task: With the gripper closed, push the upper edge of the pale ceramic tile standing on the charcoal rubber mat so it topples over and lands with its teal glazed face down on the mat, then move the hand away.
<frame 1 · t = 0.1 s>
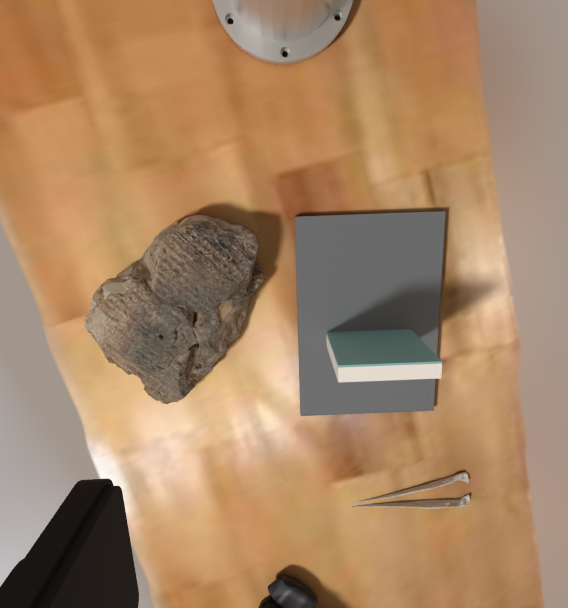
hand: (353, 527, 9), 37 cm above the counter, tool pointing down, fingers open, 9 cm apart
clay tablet: (189, 296, 46), on the counter
tile: (368, 337, 46), point 1 cm above the counter, touching mat
mat: (367, 318, 46), on the counter
old metal nails: (395, 493, 53), on the counter
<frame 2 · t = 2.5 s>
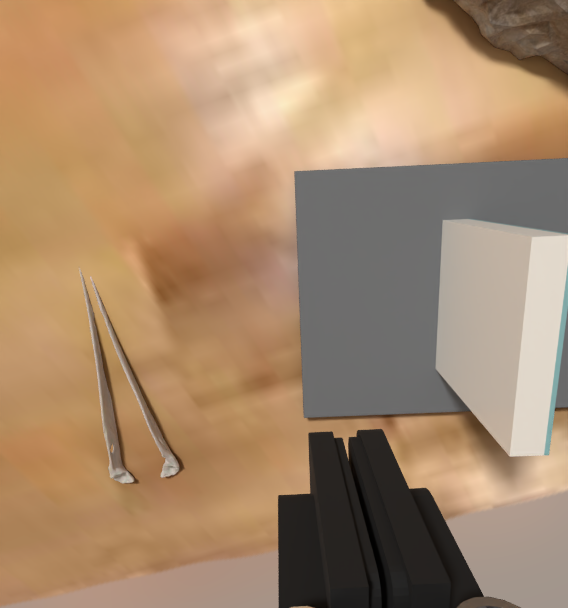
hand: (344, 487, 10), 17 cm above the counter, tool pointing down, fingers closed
tile: (452, 297, 25), point 1 cm above the counter, touching mat
mat: (482, 293, 26), on the counter
old metal nails: (117, 355, 28), on the counter
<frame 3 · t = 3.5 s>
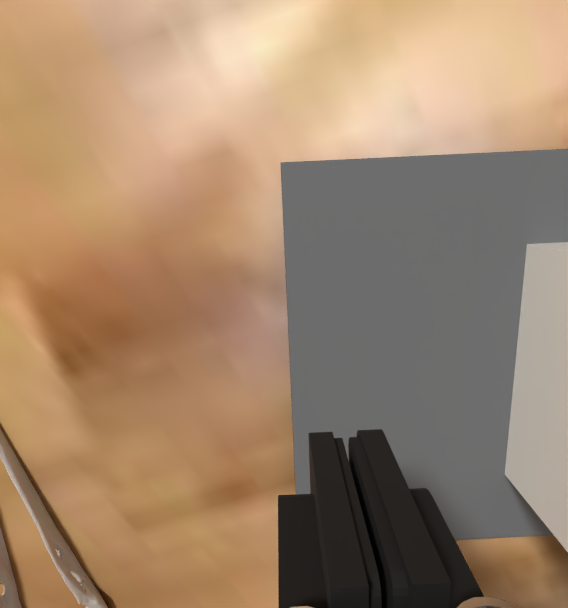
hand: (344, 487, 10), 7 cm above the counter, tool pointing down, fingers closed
tile: (536, 366, 16), point 1 cm above the counter, touching mat
old metal nails: (6, 445, 18), on the counter
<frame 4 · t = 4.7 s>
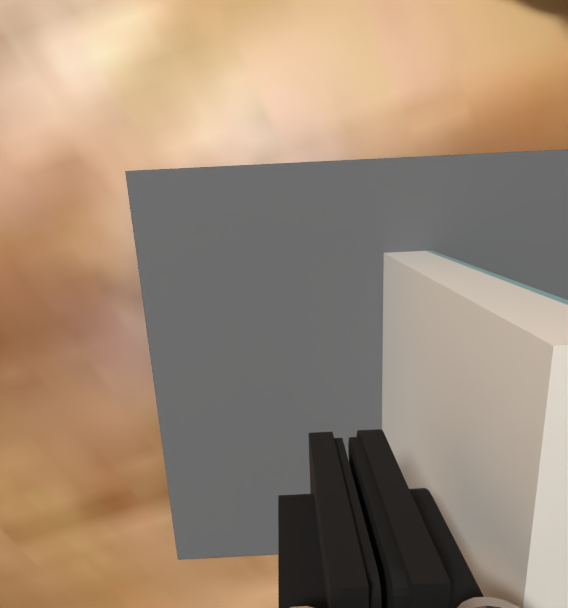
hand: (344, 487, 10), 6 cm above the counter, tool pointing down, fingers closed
tile: (404, 376, 15), point 1 cm above the counter, touching gripper, mat
mat: (452, 366, 16), on the counter
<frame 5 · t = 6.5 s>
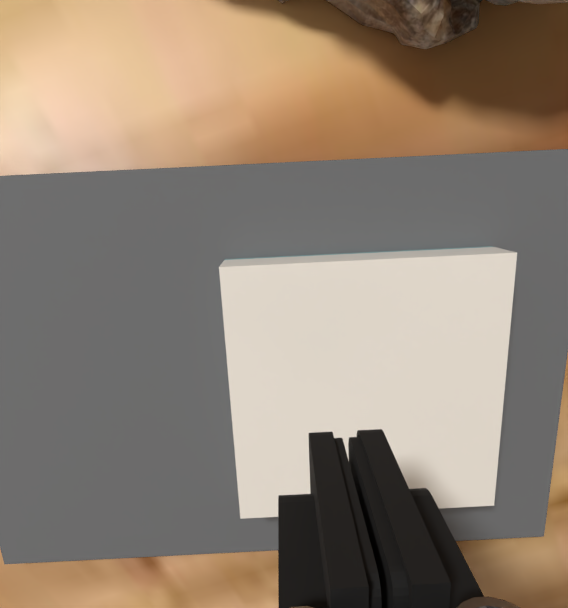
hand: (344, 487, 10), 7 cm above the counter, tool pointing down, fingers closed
tile: (232, 392, 15), point 1 cm above the counter, tilted 90°, touching mat
mat: (264, 373, 16), on the counter
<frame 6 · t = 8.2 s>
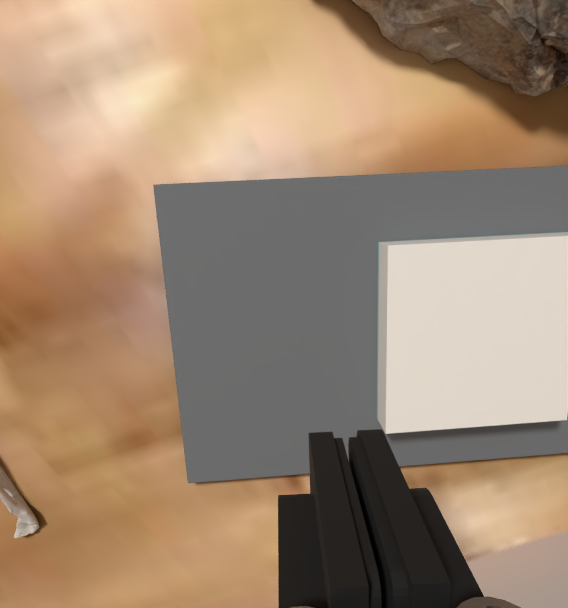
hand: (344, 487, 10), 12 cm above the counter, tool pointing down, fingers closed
tile: (381, 339, 20), point 1 cm above the counter, tilted 90°, touching mat
mat: (394, 329, 22), on the counter
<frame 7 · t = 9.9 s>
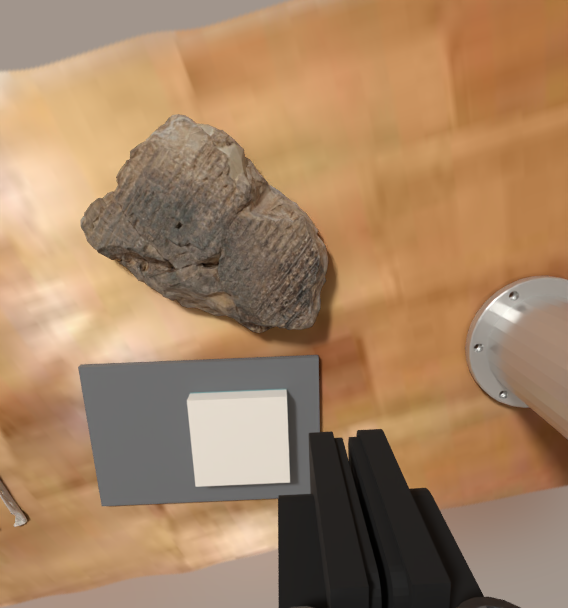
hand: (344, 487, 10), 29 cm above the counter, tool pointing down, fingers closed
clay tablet: (226, 242, 38), on the counter
tile: (192, 440, 40), point 1 cm above the counter, tilted 90°, touching mat
mat: (206, 431, 42), on the counter
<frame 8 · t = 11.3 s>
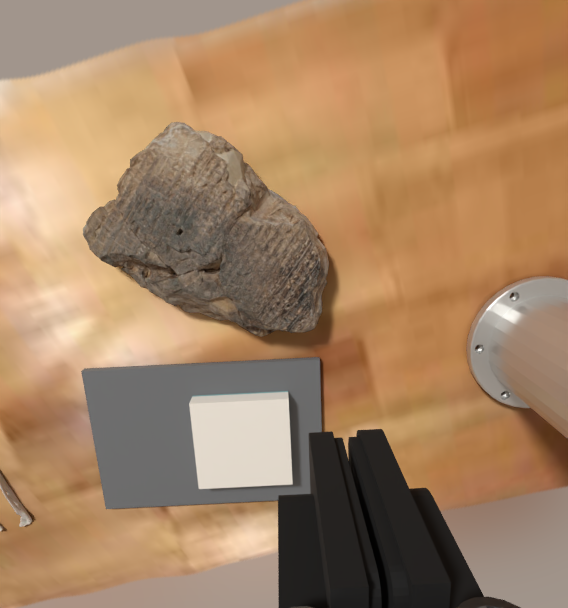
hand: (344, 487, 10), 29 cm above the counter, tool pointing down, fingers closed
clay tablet: (227, 246, 38), on the counter
tile: (195, 442, 41), point 1 cm above the counter, tilted 90°, touching mat
mat: (209, 434, 42), on the counter
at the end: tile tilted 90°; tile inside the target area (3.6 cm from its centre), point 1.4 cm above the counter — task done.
